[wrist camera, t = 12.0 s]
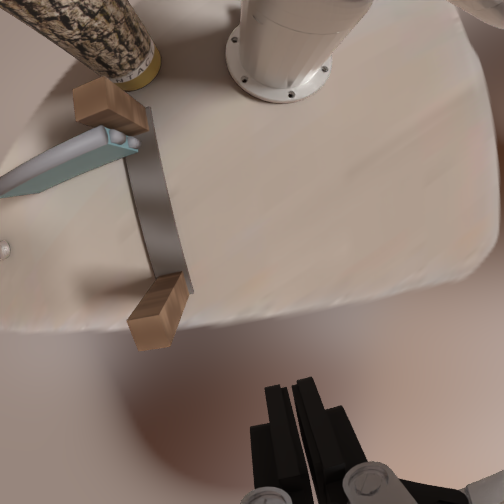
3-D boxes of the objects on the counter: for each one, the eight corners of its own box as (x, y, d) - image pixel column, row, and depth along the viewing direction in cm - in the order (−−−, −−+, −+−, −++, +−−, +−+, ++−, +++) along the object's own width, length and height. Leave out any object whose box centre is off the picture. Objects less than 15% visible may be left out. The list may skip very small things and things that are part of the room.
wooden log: (102, 67, 30) (-23, -25, 5) (146, 35, 29) (61, -93, 5) (126, 103, 31) (-12, 18, 7) (172, 69, 31) (91, -67, 6)
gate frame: (119, 117, 32) (67, 91, 19) (150, 107, 32) (109, 73, 19) (163, 298, 37) (133, 352, 24) (193, 291, 37) (175, 345, 24)
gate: (141, 135, 31) (106, 120, 21) (145, 150, 32) (110, 139, 22) (36, 180, 31) (-16, 184, 21) (39, 193, 32) (-13, 201, 22)
